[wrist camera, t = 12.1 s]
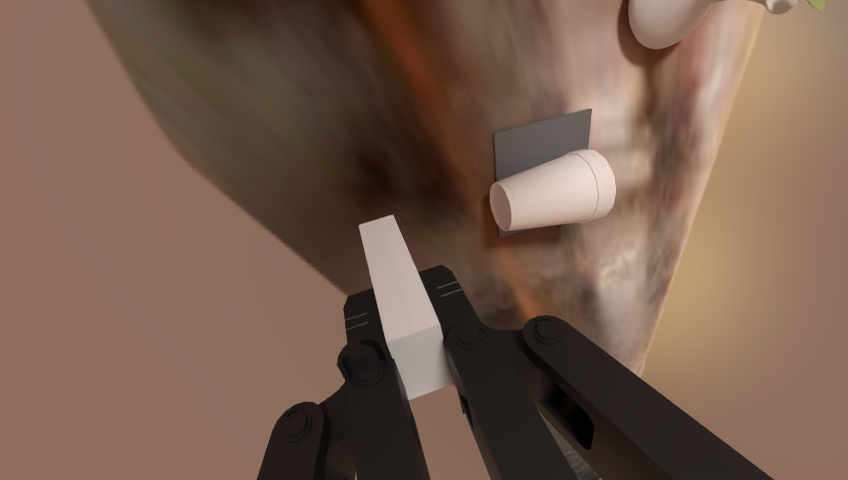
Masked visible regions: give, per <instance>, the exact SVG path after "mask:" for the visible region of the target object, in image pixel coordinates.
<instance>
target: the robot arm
mask: <svg viewBox="0 0 848 480" xmlns="http://www.w3.org/2000/svg"><path fill="white" fill-rule="evenodd" d="M359 229H360V234H361V238H362V242H363V246H364V251H365V255H366V259H367V263H368V267H369V272H370V276H371V280H372V284H373V288H372V289H369V290H366V291H363V292H360V293H357V294H354V295H351V296H348V298H347V300H346V303H345V305H344V308H343V309H344V318H345V326H346V335H347V345H346V346H345V347H344V348H343V349H342V351H341V352H340V354H339V356H338V361H337V366H338V368H339V369H340V371H341V373H342V375H343V377H344V379H345V383H344V384H343V385H342V386H341V388H340V389H339V390H338V391H337V392H335V393H334V394H333V395H332V396H330V397H329V398H327V399H326V400H325V401H323V402H322V403H320V404H319V405H317V404H315V403H314V402H302V403H299V404H296V405H294V406H292V407H291V408H290V409H289V410H287V411H285V412H284V413H283V415H282V416H281V417H280V418H279V419H278V420H277V422H276V424H275V427H274V429H273V431H272V434H271V437H270V440H269V443H268V446H267V449H266V452H265V456H264V459H263V462H262V465H261V468H260V471H259V475H258V478H257V480H355V472H356V475H357V480H430V476H429V472H428V468H427V465H426V461H425V457H424V454H423V450H422V446H421V442H420V438H419V434H418V431H417V427H416V423H415V419H414V416H413V414H412V411H411V408H410V405H409V401H408V400H411V399H413V398H416V397H419V396H421V395H424V394H427V393H429V392H432V391H435V390H438V389H440V388H443V387H446V386H448V385H451V384H454V383H455V385H456V388H457V390H458V394H459V399H460V403H461V407H462V411H463V414H464V413H465V415H466V417H467V420H468V422H469V425H470V427H471V430H472V432H473V435H474V437H475V440H476V442H477V445H478V448H479V450H480V453H481V455H482V458H483V460H484V463H485V465H486V468H487V471H488V473H489V476H490V478H491V480H578V479H577V477H576V475H575V473H574V472H573V470H572V468H571V467H570V465H569V463H568V461H567V460H566V458H565V456H564V455H563V453H562V451H561V449H560V448H559V446H558V444H557V443H556V441H555V439H554V437H553V436H552V434H551V432H550V431H549V429H548V427H547V425H546V424H545V422H544V420H543V419H542V417H541V415H540V413H539V412H538V410H539V411H540V412H541V413H542V415H543V416H544V417H545V418H546V419H547V420H548V421H549V422H550V423H551V424H552V425H553V426H554V428H555V429H556V430H557V431H558V432H559V433H560V434H561V435H562V436H563V437H564V438H565V440H566V441H567V442H568V443H569V444H570V445H571V446H572V447H573V448H574V449H575V450H576V451H577V453H578V454H579V455H580V456H581V457H582V458H583V459H584V460H585V461H586V462H587V463H588V464H589V466H590V467H591V468H592V469H593V470H594V471H595V472H596V473H597V474H598V475H599V476H600V477H601V479H602V480H774V479H772V478H771V477H770V476H768V475H767V474H766V473H764V472H763V471H762V470H760V469H759V468H758V467H757V466H755V465H754V464H753V463H751V462H750V461H749V460H747V459H746V458H745V457H743V456H742V455H741V454H739V453H738V452H737V451H735V450H734V449H733V448H732V447H730V446H729V445H727V444H726V443H725V442H723V441H722V440H721V439H720V438H718V437H717V436H716V435H714V434H713V433H711V432H710V431H709V430H708V429H706V428H705V427H704V426H702V425H701V424H700V423H699V422H697V421H696V420H694V419H693V418H692V417H691V416H689V415H688V414H687V413H685V412H684V411H683V410H681V409H680V408H679V407H677V406H676V405H675V404H673V403H672V402H671V401H670V400H668V399H667V398H666V397H664V396H663V395H662V394H660V393H659V392H658V391H656V390H655V389H654V388H652V387H651V386H650V385H648V384H647V383H646V382H644V381H643V380H642V379H641V378H639V377H638V376H637V375H635V374H634V373H633V372H631V371H630V370H629V369H627V368H626V367H625V366H623V365H622V364H621V363H619V362H618V361H617V360H615V359H614V358H613V357H612V356H610V355H609V354H608V353H606V352H605V351H604V350H602V349H601V348H600V347H598V346H597V345H596V344H594V343H593V342H592V341H590V340H589V339H588V338H586V337H585V336H584V335H582V334H581V333H580V332H579V331H577V330H576V329H575V328H573V327H572V326H571V325H569V324H568V323H567V322H565V321H563V320H561V319H560V318H558V317H553V316H549V315H545V316H537V317H534V318H532V319H530V320H529V321H528V322H527V323H526V324H525V325H524V328H523V330H509V331H503V330H496V329H492V328H490V327H488V326H486V325H485V324H483V323H482V322H481V321H480V319H479V318H478V316H477V315H476V313H475V311H474V309H473V308H472V306H471V304H470V302H469V301H468V299H467V297H466V295H465V294H464V292H463V290H462V288H461V286H460V285H459V283H458V282H457V279H456V278H455V276H454V274H453V272H452V271H451V270H449V269H448V268H446V267H445V266H443V265H439V266H436V267H433V268H430V269H427V270H424V271H421V272H417V269H416V267H415V265H414V262H413V260H412V258H411V255H410V253H409V251H408V248H407V246H406V244H405V241H404V239H403V237H402V234H401V232H400V230H399V228H398V225H397V223H396V221H395V218H394V216H393V215H390V216H387V217H383V218H380V219H377V220H374V221H370V222H367V223H364V224H361V225H359ZM537 409H538V410H537Z"/></svg>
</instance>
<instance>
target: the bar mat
mask: <svg viewBox="0 0 848 480" xmlns="http://www.w3.org/2000/svg"><path fill="white" fill-rule="evenodd" d="M591 113H592V109H586V110H582V111H578V112H574V113H570V114H566V115H562V116H558V117H554V118H550V119H547V120H543V121H539V122H535V123H531V124H527V125H523V126H519V127H515V128H511V129H507V130H503V131H499V132H495V133H493V141H494V159H495V177H496V182H499V181H500V180H503V179H505V178H508V177H510V176H513V175H516V174H518V173H521V172H523V171H526V170H529V169H531V168H534V167H536V166H539V165H542V164H544V163H547V162H549V161H552V160H555V159H557V158H560V157H562V156H564V155H565V154H567V153H569V152H573V151H578V150H582V149H588V144H589V134H590V123H591ZM529 229H533V228H528V229H520V230H512V231H509V230H508V231H504V230H502V229H500V227H499V226H498V232H499V238H503V237H506V236H509V235H513V234H516V233H519V232H523V231H526V230H529Z"/></svg>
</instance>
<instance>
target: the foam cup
mask: <svg viewBox="0 0 848 480" xmlns="http://www.w3.org/2000/svg"><path fill="white" fill-rule="evenodd" d="M615 194H616V187H615V180H614V174H613V172H612V170H611V168H610V166H609V164H608V162H607V160H606V159H605V158H604V157H603V156H602V155H600V154H599V153H598V152H597V151H595V150H588V149H582V150H578V151H573V152H569V153H567V154H565V155H564V156H562V157H560V158H557V159H555V160H552V161H549V162H547V163H544V164H542V165H539V166H536V167H534V168H531V169H529V170H526V171H523V172H521V173H518V174H516V175H513V176H510V177H508V178H505V179H503V180H500V181H499V182H495V183H494V184H493V185H492V186H491V189H490V205H491V210H492V214H493V216H494V219H495V221H496V223H497V224H498V226H499V227H500V229H502V230H504V231H508V230H509V231H512V230H520V229H528V228H536V227H544V226H552V225H560V224H568V223H576V222H578V223H584V222H588V221H591V220H595V219H598V218H601V217H605V216H606V215H607V214H608V212H609V211H610V210H611V208H612V207H613V205H614V199H615Z"/></svg>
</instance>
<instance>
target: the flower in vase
mask: <svg viewBox="0 0 848 480" xmlns="http://www.w3.org/2000/svg"><path fill="white" fill-rule="evenodd" d="M718 1H724V0H629V7H628V16H629V23H630V26H631V29H632V32H633V34H634V36H635V37H636V39H637V40H638V41H639V42H640V43H641V44H642V45H643V46H645V47H647V48H650V49H662V48H666V47H669V46H671V45H673V44H676V43H678V42H679V41H681V40H683V39H684V38H685V37H687V36H688V35H689V34H690V33H691V32H692V31H693V30H694V29H695V28H696V27H697V26H698V25H699V24H700V22H701V21H702V20H703V19H704V18H705V16H706V15H707V13H708V12H709V10H710V8H711V6H712V5H713V3H714V2H718ZM749 1H754V2H758V3H760V4H762V5H764V6H765V7H766V9H767V10H768V11H769V12H770V13H772V14H782V13H785V12H787V11H788V10H790V9H791V8H792V7H793V6H795V5H796V4H797V3H798V2H799V0H749ZM807 1H808V2H809V4H810V5H811V6H812V7H813V8H815V9H816V10H818V11H820V12H823V9H824V6H825V3H826V1H827V0H807Z"/></svg>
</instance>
